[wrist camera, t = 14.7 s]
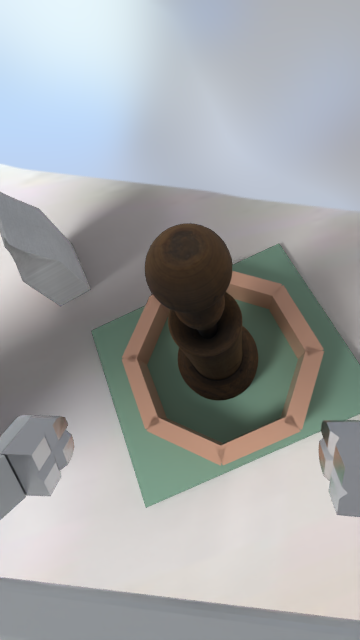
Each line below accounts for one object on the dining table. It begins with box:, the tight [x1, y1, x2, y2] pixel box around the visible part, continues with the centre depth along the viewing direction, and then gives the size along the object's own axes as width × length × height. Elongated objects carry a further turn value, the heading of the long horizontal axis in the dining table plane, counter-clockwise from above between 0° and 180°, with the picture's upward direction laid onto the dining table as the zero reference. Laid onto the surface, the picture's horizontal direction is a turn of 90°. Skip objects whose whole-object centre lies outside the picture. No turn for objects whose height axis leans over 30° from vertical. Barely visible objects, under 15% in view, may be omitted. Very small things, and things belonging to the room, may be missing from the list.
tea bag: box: [0, 192, 91, 306], centre depth 28 cm, size 4×7×10 cm, turn 27°
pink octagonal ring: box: [122, 271, 324, 466], centre depth 24 cm, size 14×14×3 cm
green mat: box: [91, 244, 360, 508], centre depth 26 cm, size 20×16×1 cm
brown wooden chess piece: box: [145, 224, 258, 401], centre depth 17 cm, size 7×6×18 cm
